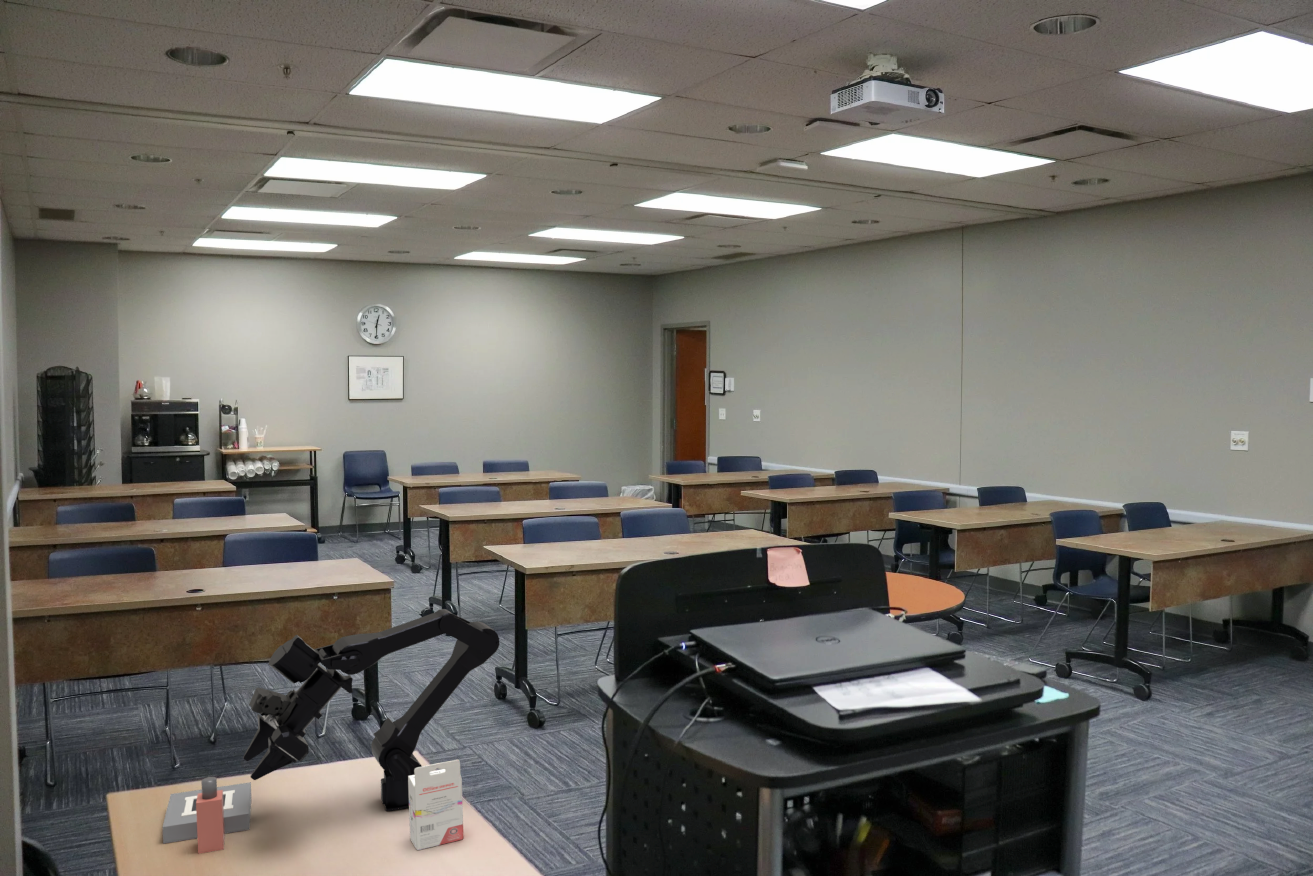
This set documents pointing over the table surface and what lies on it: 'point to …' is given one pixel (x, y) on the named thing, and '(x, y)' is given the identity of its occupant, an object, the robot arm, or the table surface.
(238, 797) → the socket plate
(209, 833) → the plug
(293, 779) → the table surface
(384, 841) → the table surface
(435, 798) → the ink cartridge box
